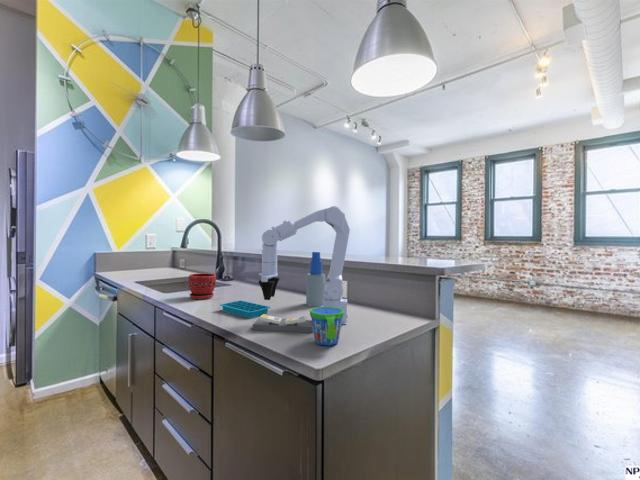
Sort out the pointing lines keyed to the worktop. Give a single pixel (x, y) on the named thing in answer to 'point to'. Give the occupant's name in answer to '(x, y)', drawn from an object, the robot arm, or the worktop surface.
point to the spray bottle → (315, 282)
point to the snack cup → (326, 324)
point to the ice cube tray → (245, 309)
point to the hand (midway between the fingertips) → (269, 298)
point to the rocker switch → (295, 320)
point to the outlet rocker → (270, 319)
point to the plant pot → (202, 285)
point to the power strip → (283, 326)
